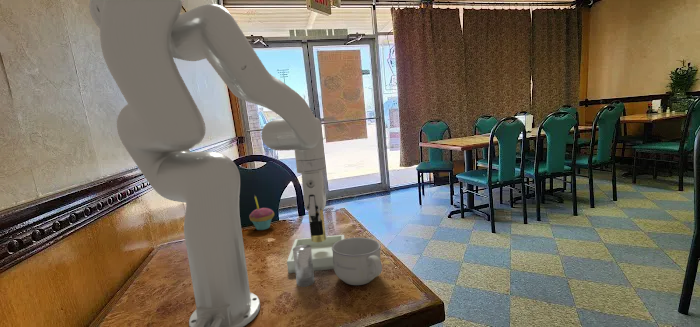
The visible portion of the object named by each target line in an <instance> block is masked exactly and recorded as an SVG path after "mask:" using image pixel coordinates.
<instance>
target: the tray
mask: <svg viewBox="0 0 700 327" xmlns="http://www.w3.org/2000/svg"><path fill="white" fill-rule="evenodd" d="M343 239H345V234H338V235H337V234H336V235H326V240H324V241H322V242H312V241H311V237H306V238H305V237H304V238H295V239H294V240H293V244H292V247H291V250H290V253H289V255H288V258H287V260H286V265H287V273H288V274H292V273H295V264H294V255H293V248H294V247H296V246H299V245H310V246H311V252H312V261H313V271H314V272H315V271H326V270H334V265H333V251H332V245H333V244H334V243H335V242H337V241H339V240H343ZM295 274H296V273H295Z"/></svg>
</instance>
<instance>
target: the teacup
mask: <svg viewBox="0 0 700 327" xmlns="http://www.w3.org/2000/svg"><path fill="white" fill-rule="evenodd" d="M381 247H382V246H381V243H380V242H379V241H378V240H376V239H373V238H369V237H359V236H357V237H356V236H355V237H348V238H346V237H345V238H344V239H343V240H339V241H337V242H335V243H334V244H333V245H332V251H333V265H334V269H333V270H334V273H335V275H336V276H337V277H338V278H339V280H341V281H342V282H344V283H345V284H347V285H350V286H362V285H367V284H369V283H370V282H371V281H373V280H374V279H375V278H377V277H378V276H380V275H381V274H382V271H383V264H382V261H381Z"/></svg>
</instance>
